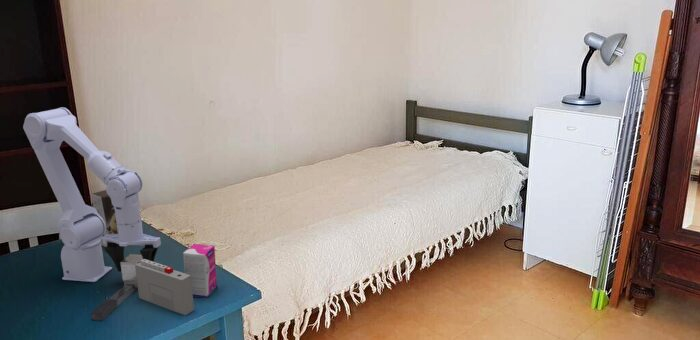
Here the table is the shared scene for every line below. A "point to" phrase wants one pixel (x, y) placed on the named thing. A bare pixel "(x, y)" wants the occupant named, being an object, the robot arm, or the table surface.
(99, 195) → the cookie box
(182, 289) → the cassette player
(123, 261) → the brushed metal cube
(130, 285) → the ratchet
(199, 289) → the supplement box
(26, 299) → the table surface
